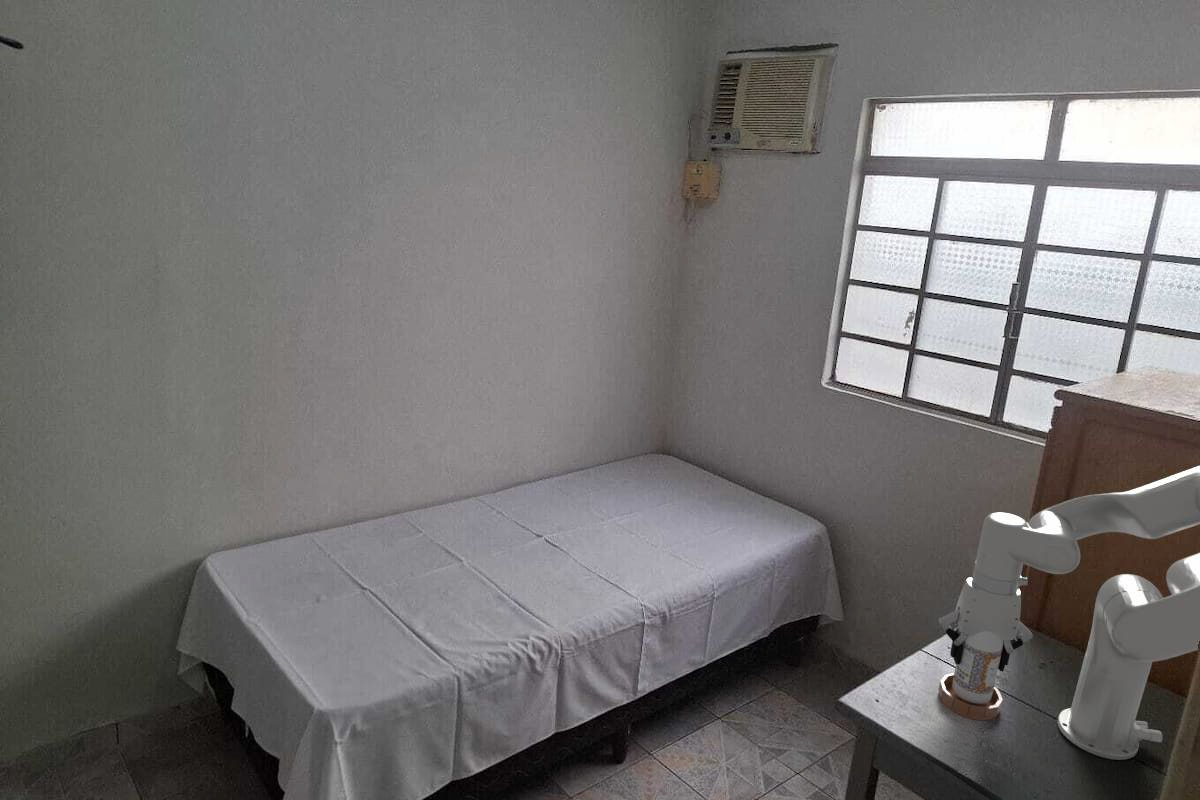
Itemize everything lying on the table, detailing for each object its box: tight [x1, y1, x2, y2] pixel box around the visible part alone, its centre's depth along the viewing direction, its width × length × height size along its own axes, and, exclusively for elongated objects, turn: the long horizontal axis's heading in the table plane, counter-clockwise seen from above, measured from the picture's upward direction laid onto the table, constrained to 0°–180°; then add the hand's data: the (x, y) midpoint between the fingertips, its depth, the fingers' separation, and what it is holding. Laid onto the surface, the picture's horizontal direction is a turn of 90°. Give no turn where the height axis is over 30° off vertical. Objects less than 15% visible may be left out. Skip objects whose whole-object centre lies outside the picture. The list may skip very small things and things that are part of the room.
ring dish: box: [938, 672, 1004, 722], centre depth 152 cm, size 11×11×3 cm
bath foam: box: [952, 631, 1003, 704], centre depth 148 cm, size 7×7×20 cm
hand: (977, 662), depth 149 cm, fingers closed on bath foam, 7 cm apart
